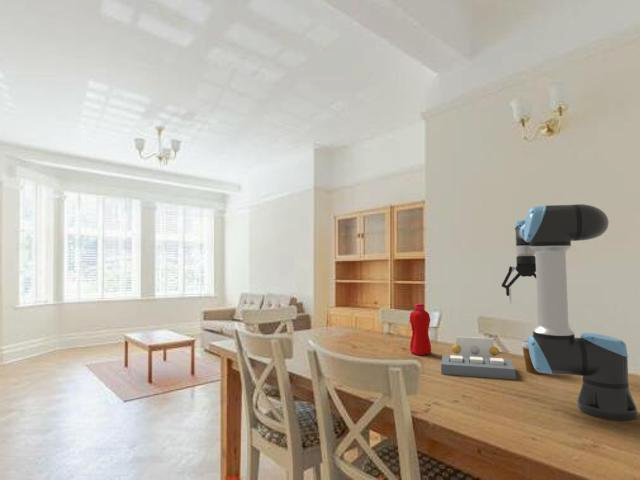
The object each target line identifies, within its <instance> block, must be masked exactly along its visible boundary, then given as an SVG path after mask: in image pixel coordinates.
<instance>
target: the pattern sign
mask: <svg viewBox="0 0 640 480" xmlns="http://www.w3.org/2000/svg"><path fill="white" fill-rule="evenodd" d="M455 337H456V338H455V342H456V343H455V344H454V345H452V347H451V351H452V352H453V353H454V354H456V356H463V357H470V356H471V357H482V358H495V357H496V356H498V355H499V352H500V351H499V350H500V349H499V348H498V347H497V346H495V342H494V341H495V340H494V338H491V337H475V336H474V337H472V336H455Z"/></svg>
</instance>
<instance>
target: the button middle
mask: <svg viewBox="0 0 640 480" xmlns="http://www.w3.org/2000/svg"><path fill="white" fill-rule="evenodd" d="M470 363H476V364H483V358H482V357H471V356H470Z"/></svg>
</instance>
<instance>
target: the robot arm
mask: <svg viewBox="0 0 640 480" xmlns="http://www.w3.org/2000/svg"><path fill="white" fill-rule="evenodd" d="M609 222H610V221H609V218H608V216H607V214H606V213H605V212H604V211H603V210H602V209H600V208H599V207H596V206H593V205H589V204H582V203H581V204H580V203H577V204H559V205H558V204H557V205H556V204H555V205H554V204H553V205H551V204H550V205H541V206H540V205H538V206H532V207H531V208H529V209H528V211H527V214H526V216H525V219H522V220H516V221H515V226H514V231H515V249H516V250H515V255H516V261H515V262H516V266H510V265H509V267H508V272H507V274H506V276H505V277H504V280H503V281H502V283H501V287H502V288H504V289H505V291H506V292H505V293H506V296H508V300H509V301H508V303H509V304H510V305H511V304H512V288H511V287H512V285H514V283H515V282H516V281H517V280H518V279H519V278H520V277H523V278H525V277H534V279H535V281H536V307H537V325H536V326H535V328H533V329H532V334H530V335H528V336H527V341H528V347H529V353H530V357H531V361H532V364H533V366H534V368H535V369H536V371H538V372H540V373H542V374H549V375H565V376H566V375H567V376H579V377H580V376H581V377H582V385H581V388H580V391H579V393H578V396H577V404H576V405H577V408H578V410H579V411H581V412H583V413H585V414H587V415H590V416H593V417H595V418H600V419H606V420H613V421H633V420H636V419H637V418H638V408H637V405H636V403H635V401H634V398H633V396H632V393H631V391H630V388H629V367H628V364H629V363H628V358H629V355H628V349H627V344H626V343H625V341H624V340H621V339H619V338H617V337H613V336H609V335H605V334H599V333H592V332H582V333H581V334H580V337H575V332H574V331H573V330H572V329H571V328H570V327H569V326H570V325H569V307H568V306H569V305H568V283H567V281H568V279H567V257H566V255H567V253H566V252H567V251H568V250H569V249H571V246H572V242H575V241H576V242H579V241H588V240H593V239H596V238H598V237H600V236H602V235H603V234H604V233H605V232H606V231H607V230H608V228H609ZM515 270H516V272H517V273H516V274H515V276H514V277H512V279H511V280H510V281H509V282H508V280H509V279H510V277H511V275H512V272H515ZM507 282H508V284H507ZM506 284H507V285H506Z"/></svg>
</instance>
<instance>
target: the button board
mask: <svg viewBox="0 0 640 480" xmlns="http://www.w3.org/2000/svg"><path fill="white" fill-rule="evenodd" d="M441 357H442V358H441V363H440V364H441V365H440V366H441V369H440V370H441V375H450V376H464V377H465V376H466V377H477V378H478V377H479V378H491V379H503V380H504V379H505V380H514V381H515V380H516V379H517V377H516V373H517V372H516V367H515V366H514V364H513V362H512V360H511V359H507V358H503V360H504V365H491V364H490V358H483V364H476V363H470V357H463V363H461V362H450V355H447V354H446V355H445V354H443V355H442V356H441Z"/></svg>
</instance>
